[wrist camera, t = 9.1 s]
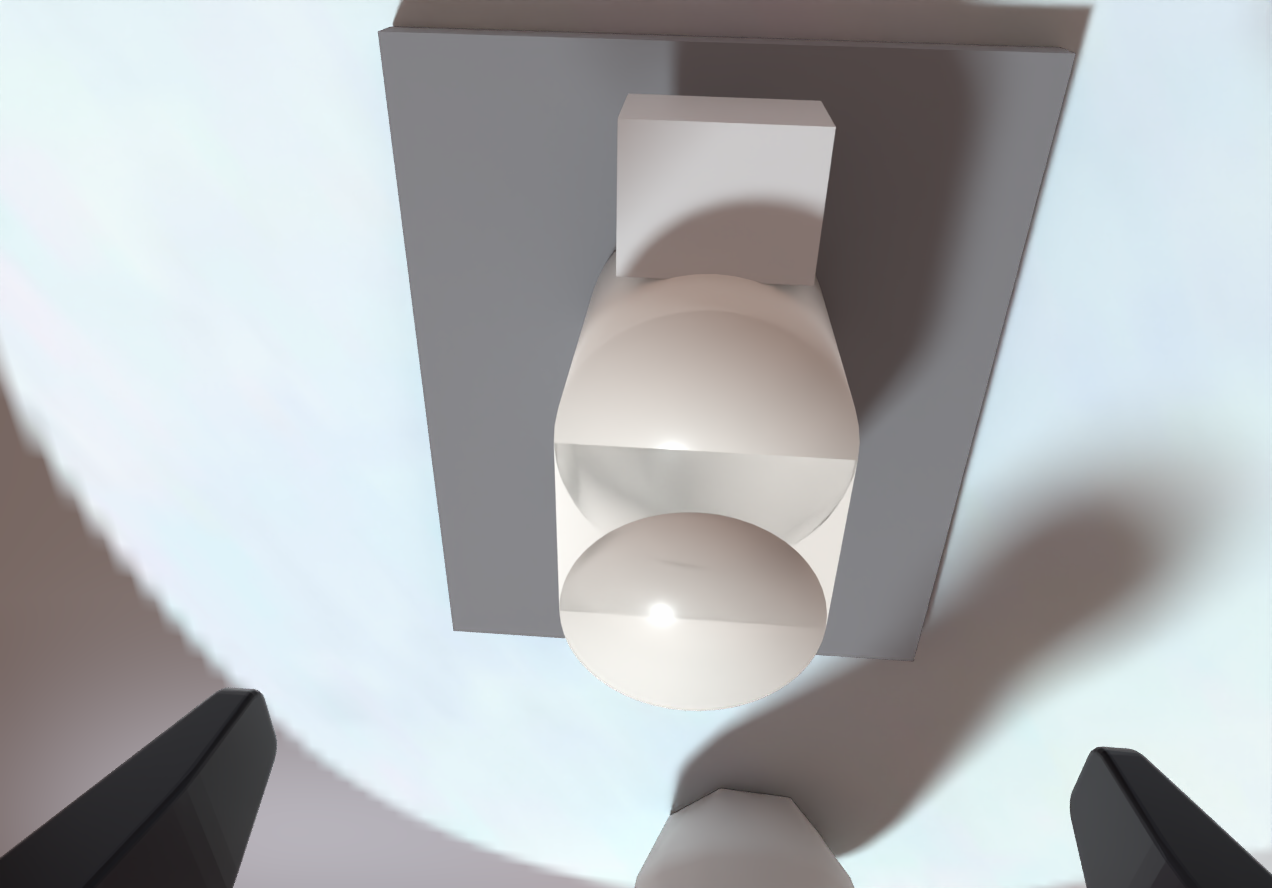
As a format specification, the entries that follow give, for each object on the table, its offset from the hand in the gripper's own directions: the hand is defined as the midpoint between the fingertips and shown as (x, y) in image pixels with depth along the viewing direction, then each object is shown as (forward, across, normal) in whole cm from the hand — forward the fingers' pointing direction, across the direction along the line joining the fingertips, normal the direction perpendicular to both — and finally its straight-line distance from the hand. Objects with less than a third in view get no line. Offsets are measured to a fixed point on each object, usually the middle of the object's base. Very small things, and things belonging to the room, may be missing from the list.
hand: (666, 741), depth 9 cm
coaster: (+8, 0, 0) cm, 8 cm away
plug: (+7, 0, 0) cm, 7 cm away
